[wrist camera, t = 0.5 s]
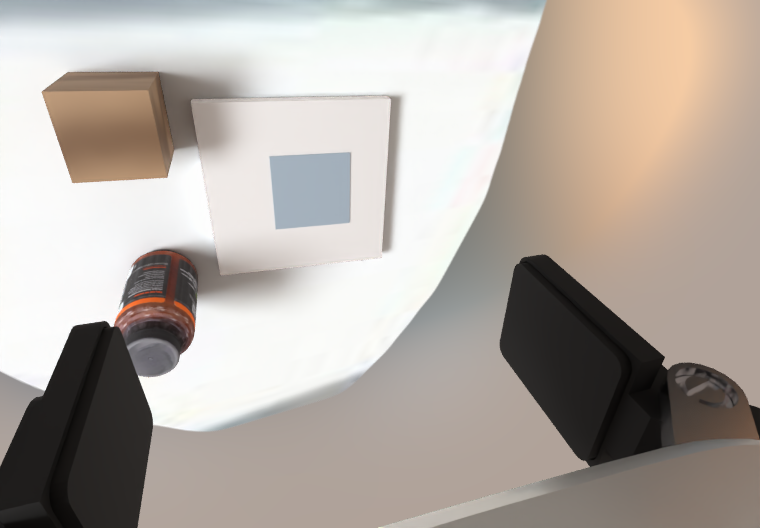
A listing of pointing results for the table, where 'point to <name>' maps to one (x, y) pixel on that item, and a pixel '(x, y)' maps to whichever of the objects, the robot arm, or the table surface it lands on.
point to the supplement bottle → (158, 311)
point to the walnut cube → (111, 125)
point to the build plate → (294, 179)
